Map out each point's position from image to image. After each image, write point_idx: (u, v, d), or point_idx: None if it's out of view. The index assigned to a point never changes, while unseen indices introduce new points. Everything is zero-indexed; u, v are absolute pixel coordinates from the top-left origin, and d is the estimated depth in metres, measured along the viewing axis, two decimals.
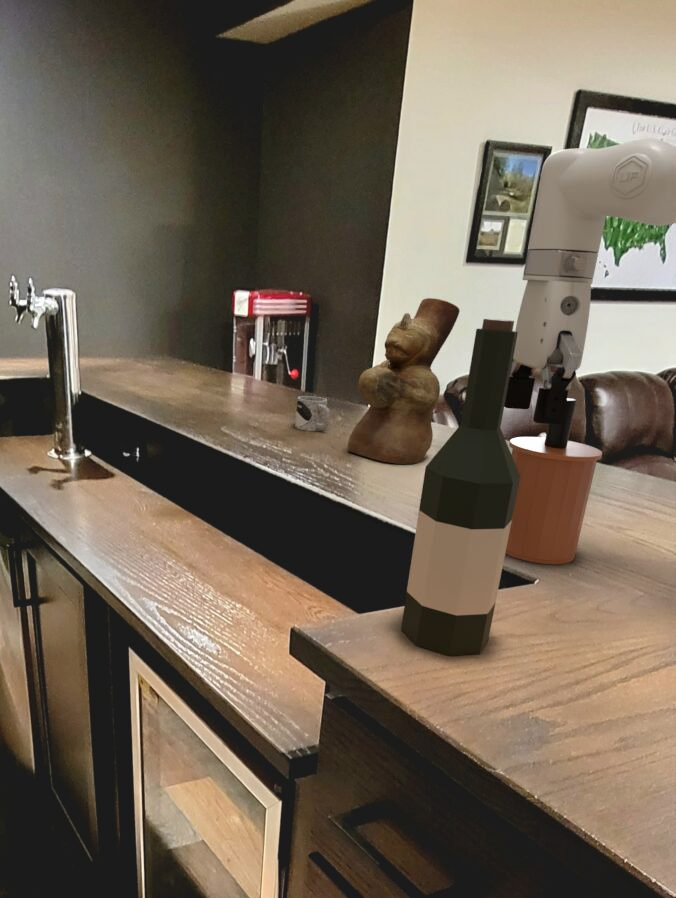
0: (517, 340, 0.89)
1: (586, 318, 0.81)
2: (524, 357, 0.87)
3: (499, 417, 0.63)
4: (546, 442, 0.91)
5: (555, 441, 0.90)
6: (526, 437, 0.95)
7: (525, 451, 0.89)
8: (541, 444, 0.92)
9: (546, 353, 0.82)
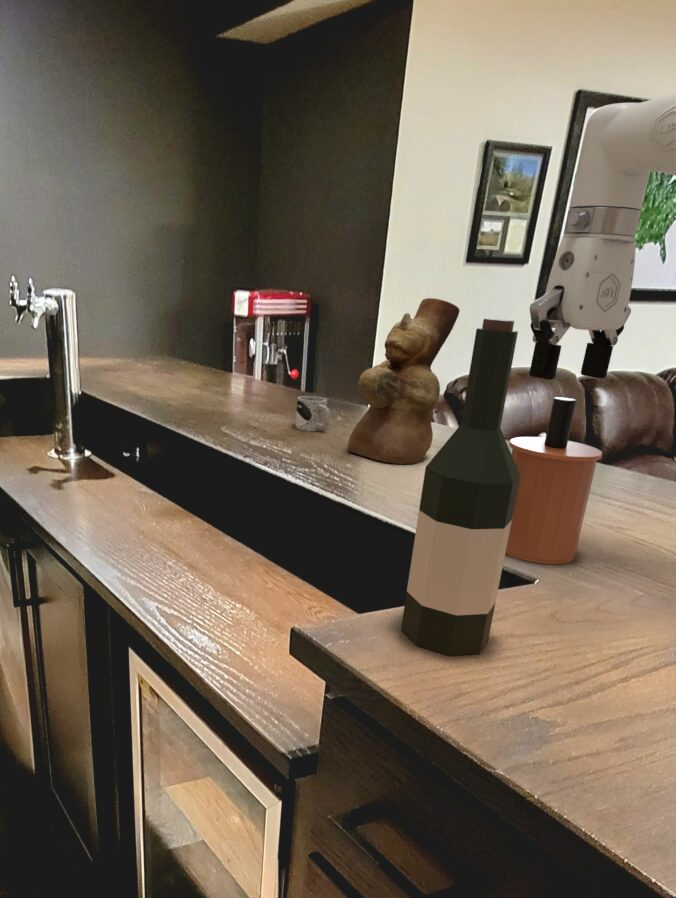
0: None
1: (580, 273, 0.81)
2: None
3: (499, 417, 0.63)
4: (546, 442, 0.91)
5: (555, 441, 0.90)
6: (526, 437, 0.95)
7: (525, 451, 0.89)
8: (541, 444, 0.92)
9: None
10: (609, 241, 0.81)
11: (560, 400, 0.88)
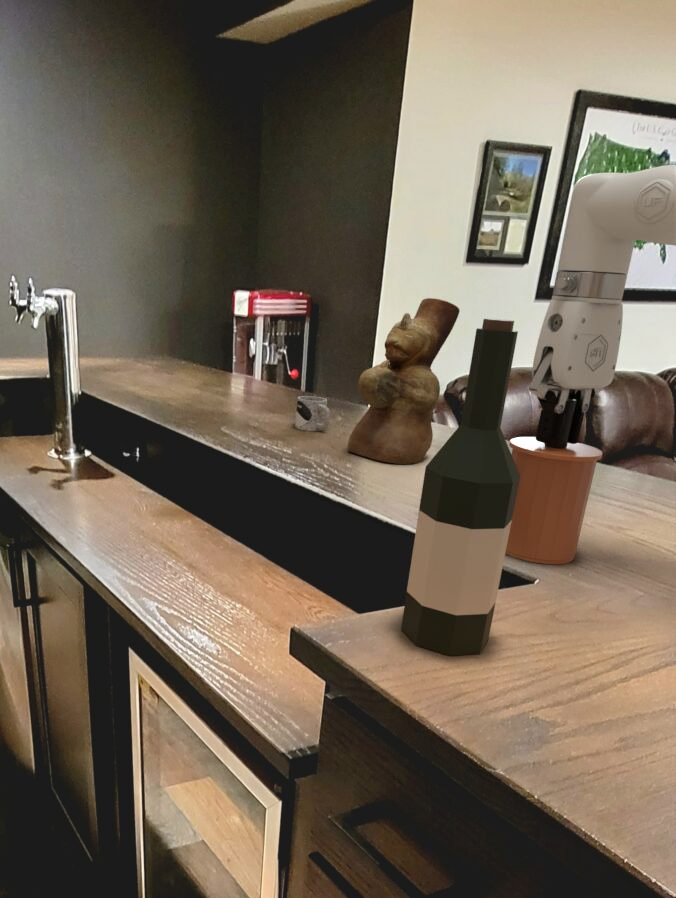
0: None
1: (568, 335, 0.83)
2: None
3: (499, 417, 0.63)
4: None
5: None
6: (526, 437, 0.95)
7: (525, 451, 0.89)
8: (541, 444, 0.92)
9: (533, 367, 0.87)
10: (596, 304, 0.83)
11: None
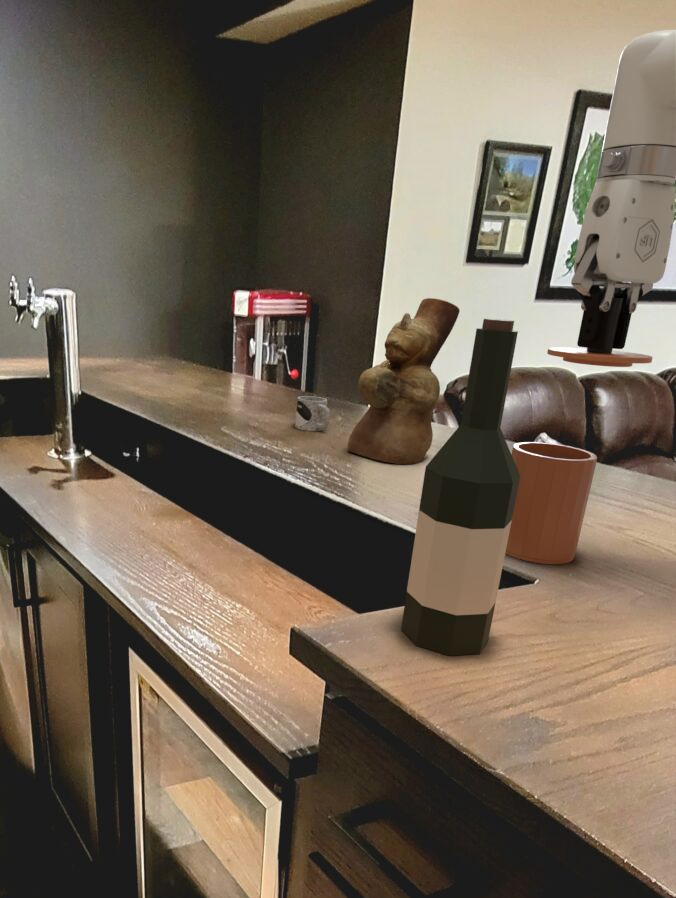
0: None
1: (616, 218, 0.74)
2: None
3: (499, 417, 0.63)
4: None
5: None
6: None
7: (566, 355, 0.80)
8: (583, 351, 0.83)
9: (575, 259, 0.78)
10: (648, 183, 0.74)
11: None
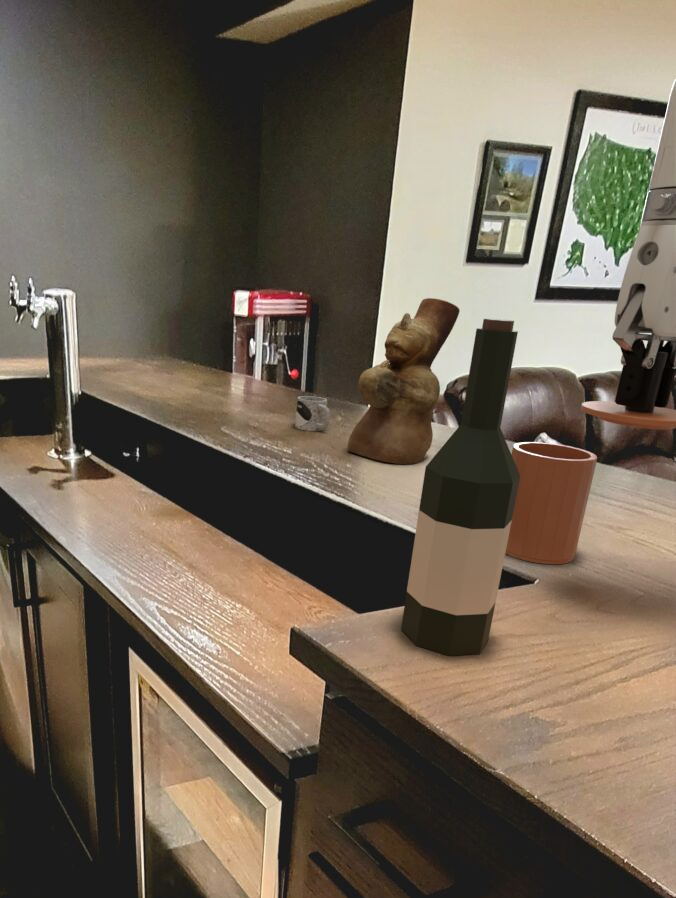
0: None
1: (666, 268, 0.66)
2: None
3: (499, 417, 0.63)
4: None
5: None
6: (599, 401, 0.79)
7: (605, 415, 0.72)
8: (621, 408, 0.75)
9: (617, 310, 0.70)
10: None
11: None
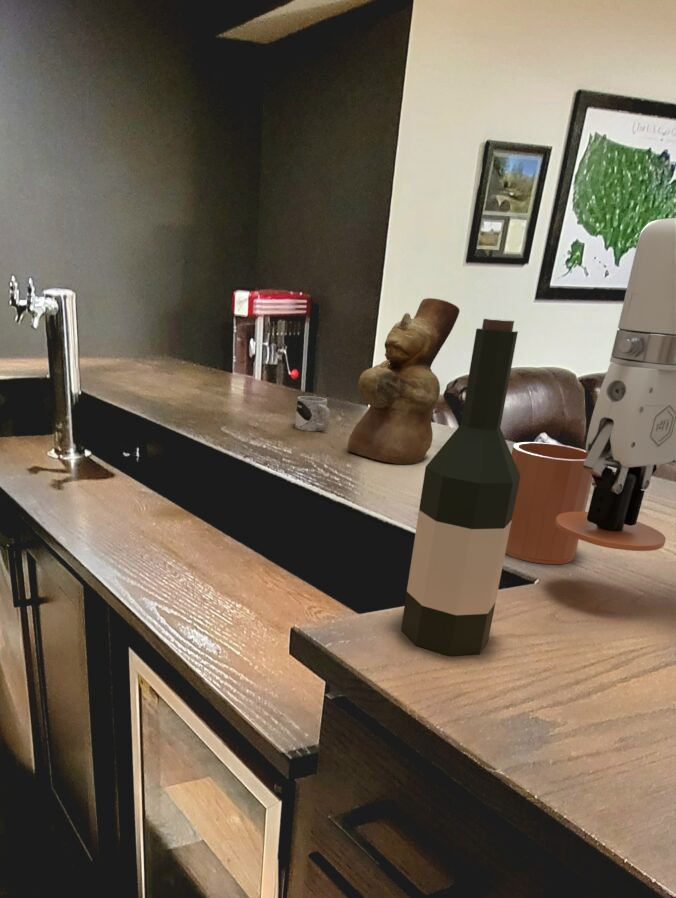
0: None
1: (633, 407, 0.70)
2: None
3: (499, 417, 0.63)
4: None
5: None
6: (573, 512, 0.83)
7: (576, 535, 0.76)
8: (593, 524, 0.79)
9: (587, 439, 0.75)
10: (666, 371, 0.70)
11: None
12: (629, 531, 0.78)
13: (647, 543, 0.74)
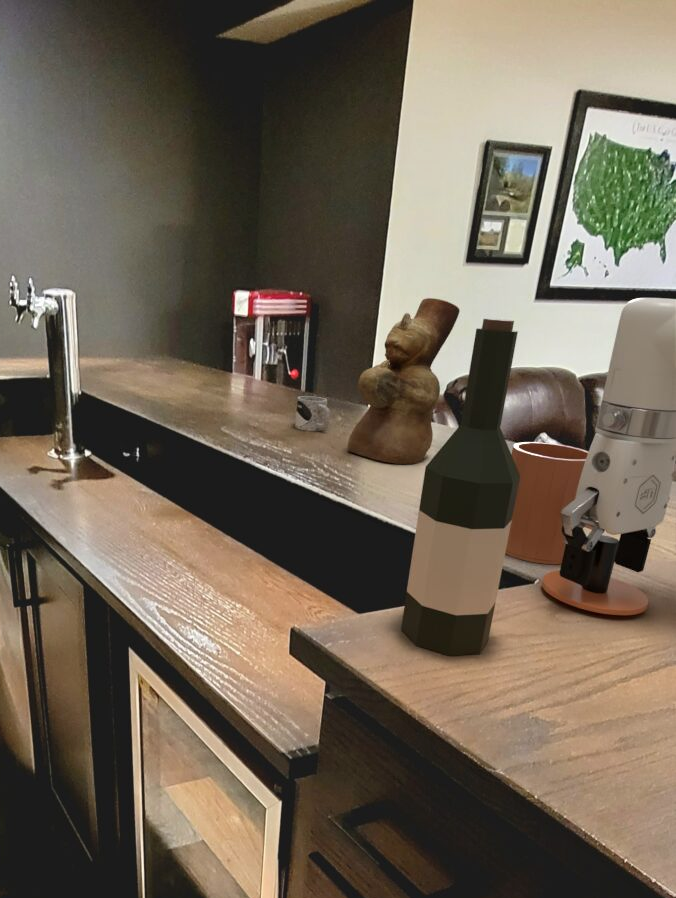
0: None
1: (617, 479, 0.72)
2: None
3: (499, 417, 0.63)
4: None
5: (594, 586, 0.80)
6: None
7: (561, 599, 0.79)
8: (578, 585, 0.82)
9: None
10: (649, 443, 0.72)
11: (601, 542, 0.78)
12: (613, 593, 0.80)
13: (630, 607, 0.77)
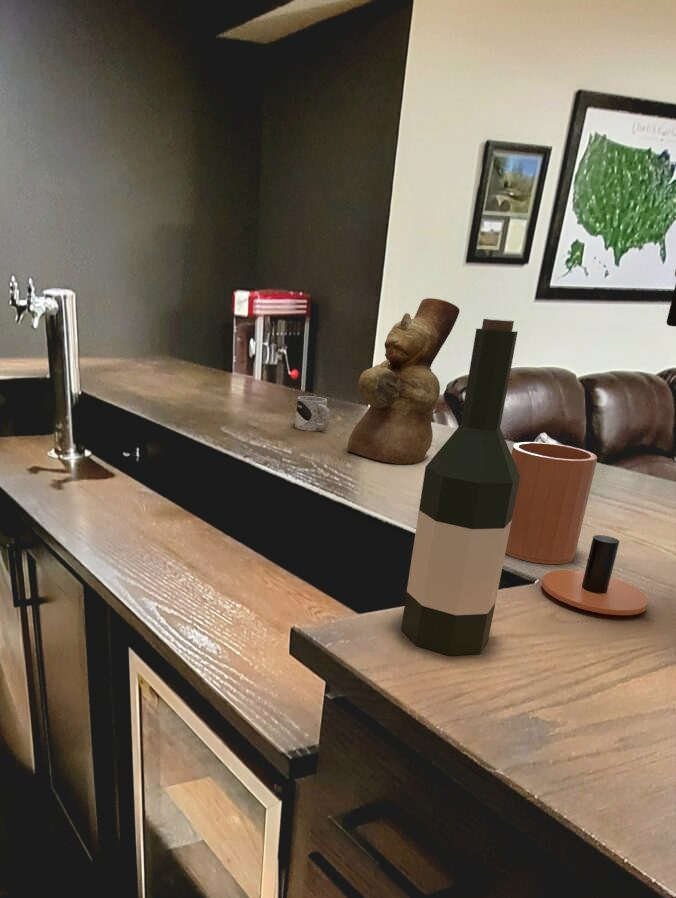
0: None
1: None
2: None
3: (499, 417, 0.63)
4: (584, 585, 0.81)
5: (594, 586, 0.80)
6: (560, 571, 0.85)
7: (561, 599, 0.79)
8: (578, 585, 0.82)
9: None
10: None
11: (601, 542, 0.78)
12: (613, 593, 0.80)
13: (630, 607, 0.77)
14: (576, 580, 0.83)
